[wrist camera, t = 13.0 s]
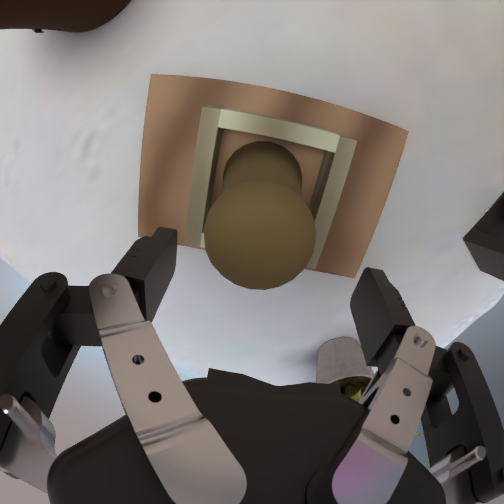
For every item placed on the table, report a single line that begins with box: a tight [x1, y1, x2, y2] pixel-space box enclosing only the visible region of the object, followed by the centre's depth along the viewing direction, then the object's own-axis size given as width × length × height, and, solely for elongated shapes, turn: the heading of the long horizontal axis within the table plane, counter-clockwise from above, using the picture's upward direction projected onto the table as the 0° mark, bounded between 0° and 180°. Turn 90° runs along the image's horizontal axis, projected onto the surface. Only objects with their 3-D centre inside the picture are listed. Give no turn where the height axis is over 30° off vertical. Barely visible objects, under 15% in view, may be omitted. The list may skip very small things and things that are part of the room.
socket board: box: [138, 74, 408, 278], centre depth 21 cm, size 20×14×4 cm
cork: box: [204, 141, 316, 290], centre depth 17 cm, size 6×6×11 cm
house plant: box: [316, 337, 424, 435], centre depth 26 cm, size 14×14×16 cm
